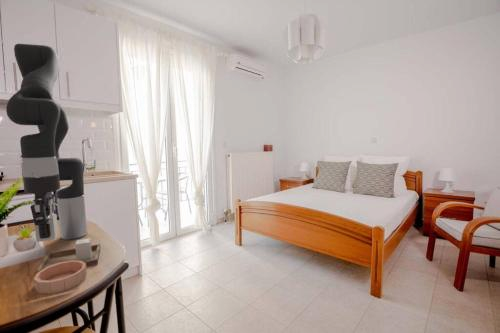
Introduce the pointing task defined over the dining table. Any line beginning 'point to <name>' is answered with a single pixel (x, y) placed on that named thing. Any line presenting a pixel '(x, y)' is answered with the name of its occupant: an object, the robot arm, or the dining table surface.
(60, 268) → the bowl
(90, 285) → the dining table surface
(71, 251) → the tray
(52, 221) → the light grey block
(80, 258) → the white rectangular block
